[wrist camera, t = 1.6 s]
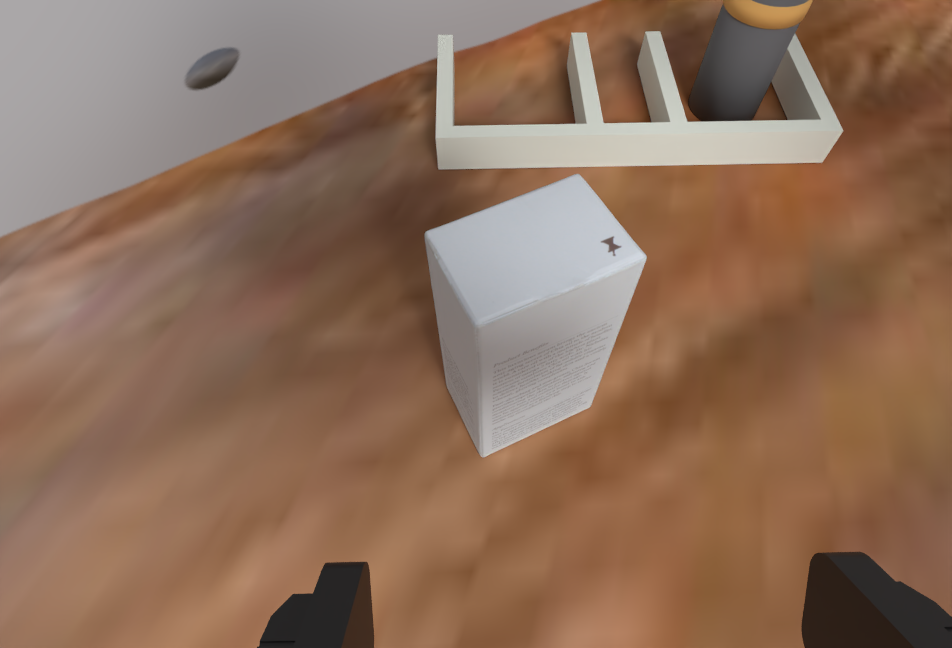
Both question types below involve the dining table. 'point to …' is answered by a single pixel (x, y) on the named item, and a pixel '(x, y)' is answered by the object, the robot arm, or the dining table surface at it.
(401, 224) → the dining table surface
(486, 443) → the skincare box
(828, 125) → the rack
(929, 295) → the dining table surface
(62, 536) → the dining table surface
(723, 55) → the charcoal plug
